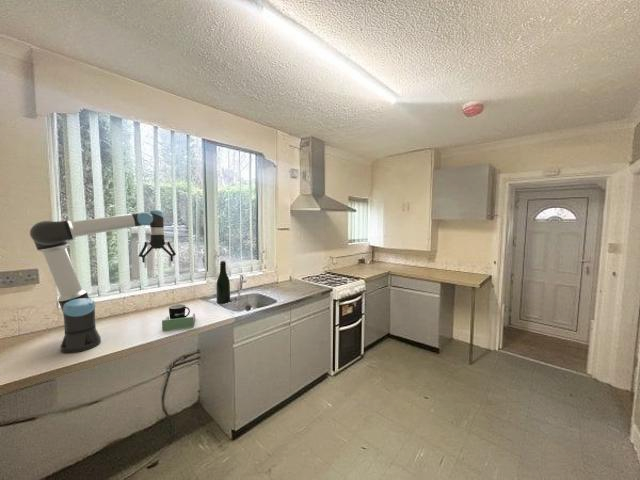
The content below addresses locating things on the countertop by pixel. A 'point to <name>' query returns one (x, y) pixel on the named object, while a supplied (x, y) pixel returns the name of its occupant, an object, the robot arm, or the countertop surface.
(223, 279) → the beer bottle
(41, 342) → the countertop surface
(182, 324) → the block
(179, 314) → the mug
